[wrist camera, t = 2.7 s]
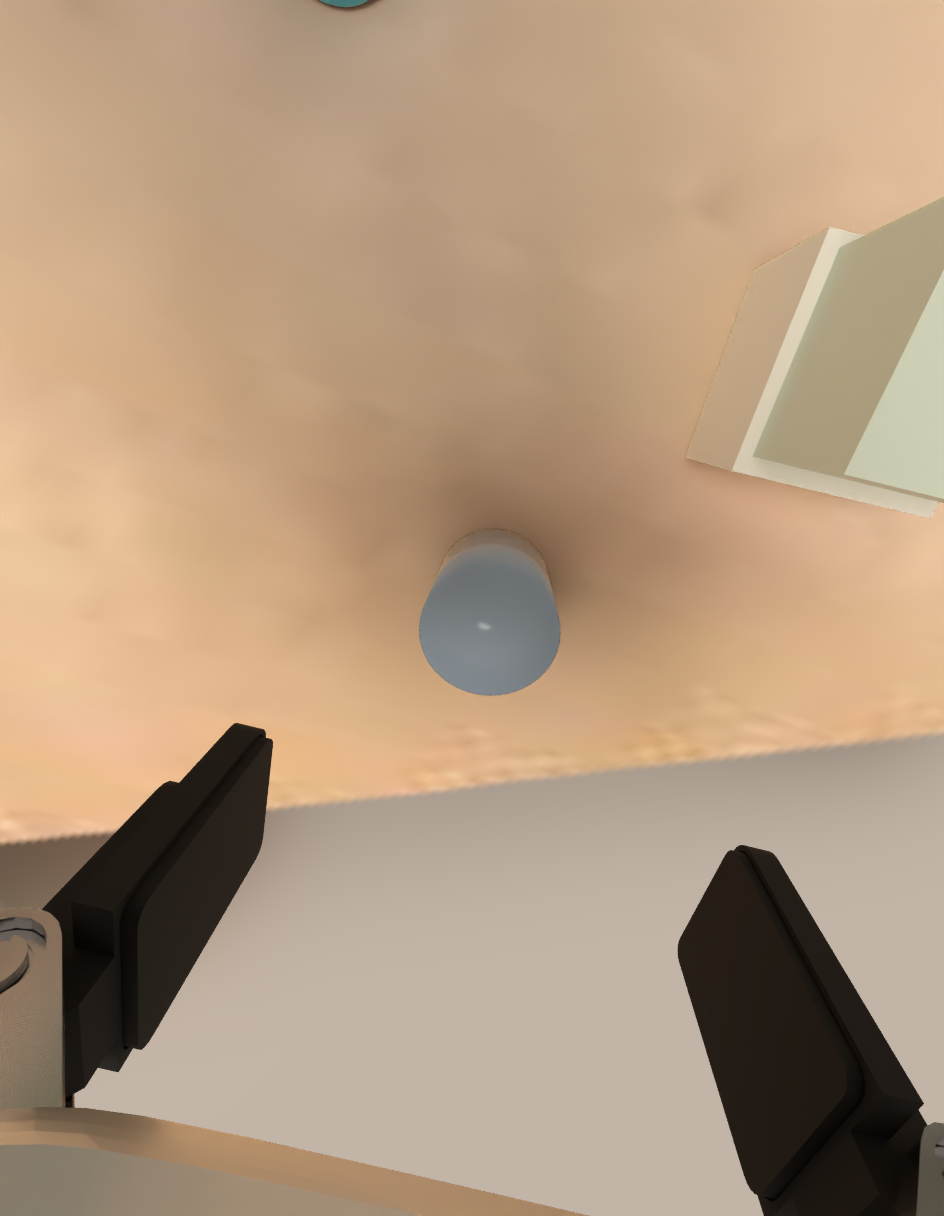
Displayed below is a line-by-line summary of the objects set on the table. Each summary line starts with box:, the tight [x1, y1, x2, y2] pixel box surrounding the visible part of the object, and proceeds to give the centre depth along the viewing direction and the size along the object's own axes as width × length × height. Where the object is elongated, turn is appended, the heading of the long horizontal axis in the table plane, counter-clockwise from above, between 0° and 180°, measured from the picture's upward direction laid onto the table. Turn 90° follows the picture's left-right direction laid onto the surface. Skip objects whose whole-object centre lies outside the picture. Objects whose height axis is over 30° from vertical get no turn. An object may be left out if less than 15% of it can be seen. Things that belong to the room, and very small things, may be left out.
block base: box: [685, 227, 939, 518], centre depth 18 cm, size 7×7×5 cm
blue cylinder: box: [419, 529, 560, 696], centre depth 22 cm, size 5×5×6 cm
